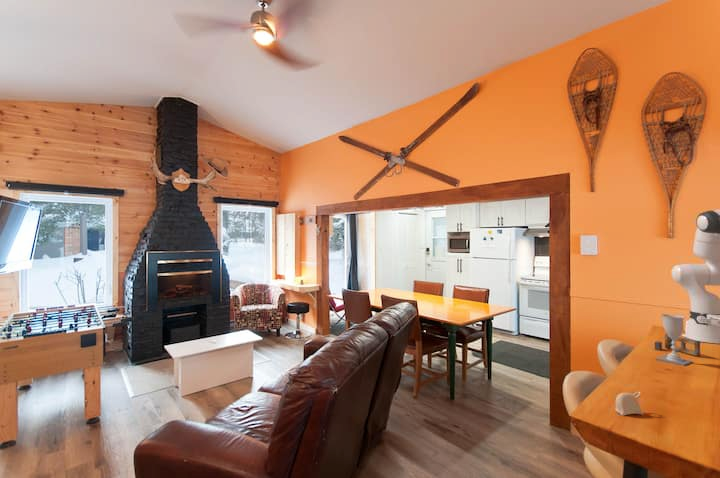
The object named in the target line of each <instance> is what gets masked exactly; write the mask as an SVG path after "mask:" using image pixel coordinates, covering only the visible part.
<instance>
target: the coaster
mask: <svg viewBox="0 0 720 478" xmlns="http://www.w3.org/2000/svg"><path fill="white" fill-rule="evenodd" d="M667 356H668V354H663V355H660V356H658V357H655V361H661V362H665V363H670V364H674V365H678V366H682V367H683V366H684V367H685V366H687V365H690V364H691V363H693V362H694V361H693V360H692V359H686V358H682V357H681V359H682V361H672V360H668V359H666V358H667Z"/></svg>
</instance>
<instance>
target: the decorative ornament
mask: <svg viewBox="0 0 720 478" xmlns="http://www.w3.org/2000/svg"><path fill="white" fill-rule="evenodd" d="M641 396H642V392H640V391H636V392H634V393H633V394H632V393H629V392H621V393H619V394H617V396H616V397H615V403H614V404H615V409H614V410H615V412H617V413H618V414H620V415H621V416H622V417H623V416H626V415H634V414H637V415H642V416H644V413H643V411H642V409H641V405H640V403H639V400H638V399H639V398H640V397H641Z"/></svg>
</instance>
